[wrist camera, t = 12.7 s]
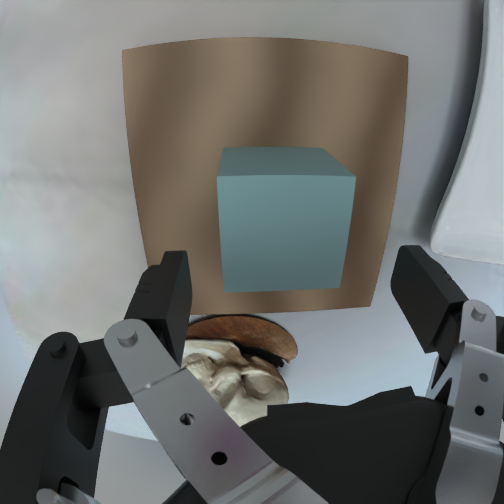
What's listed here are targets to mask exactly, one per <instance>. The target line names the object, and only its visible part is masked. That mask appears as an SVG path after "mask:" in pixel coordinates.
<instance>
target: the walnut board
mask: <svg viewBox="0 0 504 504" xmlns="http://www.w3.org/2000/svg"><path fill="white" fill-rule="evenodd" d="M122 64H123V86H124V102H125V115H126V126H127V136H128V145H129V154H130V162H131V170H132V178H133V185H134V191H135V198H136V204H137V210H138V216H139V222H140V228H141V233H142V239H143V244H144V249H145V254H146V259H147V264H148V268H149V267H150V266H151V265H160V263H161V260H162V258H163V255H164V253H165V251H178V250H186V251H187V255H188V262H189V269H190V276H191V283H192V305H191V311H190V315H202V314H251V313H277V312H298V311H315V310H330V309H344V308H357V307H369V306H370V305H371V301H372V298H373V294H374V290H375V286H376V283H377V279H378V275H379V271H380V267H381V262H382V258H383V254H384V249H385V245H386V240H387V236H388V231H389V226H390V221H391V216H392V210H393V205H394V199H395V193H396V187H397V181H398V174H399V167H400V159H401V152H402V143H403V134H404V124H405V112H406V98H407V79H408V56H405V55H400V54H396V53H392V52H387V51H382V50H377V49H372V48H367V47H361V46H355V45H348V44H341V43H334V42H325V41H316V40H304V39H290V38H261V37H242V38H214V39H200V40H188V41H179V42H170V43H163V44H156V45H149V46H143V47H137V48H132V49H126V50H122ZM230 147H312V148H323V149H324V150H326V151H327V152H328V153H329V154H330V155H332V156H333V157H334V158H335V159H336V160H338V161H339V162H340V163H341V164H342V165H343V166H345V167H346V168H347V169H348V170H349V171H350V172H351V173H353V174H354V175H355V176H356V183H355V191H354V199H353V207H352V215H351V222H350V229H349V235H348V242H347V248H346V254H345V260H344V266H343V272H342V277H341V283H340V288H328V289H309V290H286V291H260V292H224V287H223V273H222V259H221V244H220V228H219V211H218V193H217V173H218V168H219V164H220V159H221V155H222V151H223V148H230Z"/></svg>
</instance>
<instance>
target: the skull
mask: <svg viewBox="0 0 504 504" xmlns="http://www.w3.org/2000/svg"><path fill="white" fill-rule="evenodd" d="M227 329H228V330H227ZM297 353H298V350H297V345H296V343H295V341H294V339H293V338H292V336H291V335H290V334H289V333H288V332H286V331H285V330H284V329H282V328H281V327H280V326H278V325H276V324H273V323H271V322H269V321H265V320H262V319H257V318H252V317H244V316H224V317H217V318H212V319H209V320H208V319H206V320H204V321H201V322H198V323H195V324H193V325H191V326H189V327H188V328H187V334H186V340H185V346H184V352H183V358H182V365H181V369H182V368H184V367H186V368H187V369H189V370H190V371H191V373H192V374H193V375H194V376H195V377H196V378H197V380H198V381H199V382H200V383H201V384H202V386H203V387H204V388H205V389H206V390H207V391H208V393H209V394H210V395H211V396H212V397H213V398H214V399H215V401H216V402H217V403H218V404H219V405H220V406H221V407H222V408H223V409H224V411H225V412H226V413H227V414H228V415H229V416H230V417H231V418H232V419H233V420H234V421H235V423H236V424H237V425H238V426H239V427H240V426H242V425H244V424H246V423H248V422H250V421H252V420H255V419H257V418H260V417H263V416H267V405H278V404H287V403H288V399H289V393H288V388H287V386H286V383H285V381H284V380H283V378H282V376H281V375H280V374H279V372H278V370H277V366H278V367H279V366H280V367H283V366H284V362H282V359H284V360H285V361H286V362H287V363H290V362H289V361H290V360H291V359H294V358H296V356H297V355H298V354H297ZM296 354H297V355H296ZM281 358H282V359H281ZM280 367H279V368H280Z"/></svg>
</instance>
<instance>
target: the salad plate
mask: <svg viewBox="0 0 504 504" xmlns="http://www.w3.org/2000/svg"><path fill="white" fill-rule="evenodd" d="M429 246H430V250H431V251H432V252H434V253H436V254H438V255H442V256H446V257H451V258H457V259H463V260H470V261H477V262H484V263H493V264H499V265H504V0H485V1H484V13H483V38H482V49H481V59H480V66H479V73H478V80H477V85H476V90H475V95H474V100H473V105H472V109H471V113H470V117H469V121H468V125H467V129H466V133H465V136H464V140H463V143H462V147H461V150H460V153H459V156H458V159H457V162H456V165H455V168H454V171H453V173H452V176H451V179H450V182H449V184H448V187H447V189H446V192H445V194H444V197H443V199H442V201H441V204H440V206H439V209H438V211H437V214H436V217H435V219H434V222H433V225H432V228H431V233H430V239H429Z"/></svg>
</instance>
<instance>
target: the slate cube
mask: <svg viewBox="0 0 504 504" xmlns="http://www.w3.org/2000/svg"><path fill="white" fill-rule="evenodd" d="M355 183H356V176H355V175H354V174H353V173H351V172H350V171H349V170H348V169H347V168H346V167H345V166H343V165H342V164H341V163H340V162H339V161H338V160H336V159H335V158H334V157H333V156H332V155H330V154H329V153H328V152H327V151H326V150H324V149H323V148H312V147H230V148H223V151H222V155H221V159H220V164H219V168H218V173H217V193H218V211H219V228H220V244H221V259H222V273H223V287H224V292H260V291H286V290H309V289H328V288H340V283H341V277H342V272H343V266H344V260H345V254H346V248H347V242H348V235H349V229H350V222H351V215H352V207H353V199H354V191H355Z"/></svg>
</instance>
